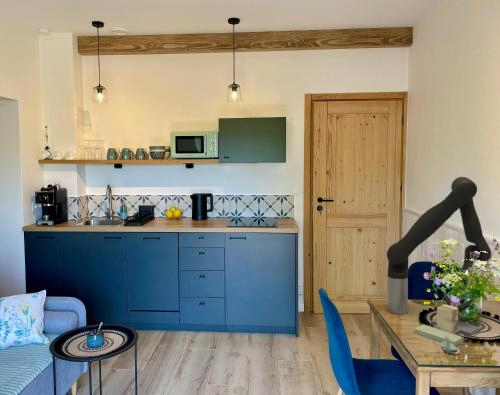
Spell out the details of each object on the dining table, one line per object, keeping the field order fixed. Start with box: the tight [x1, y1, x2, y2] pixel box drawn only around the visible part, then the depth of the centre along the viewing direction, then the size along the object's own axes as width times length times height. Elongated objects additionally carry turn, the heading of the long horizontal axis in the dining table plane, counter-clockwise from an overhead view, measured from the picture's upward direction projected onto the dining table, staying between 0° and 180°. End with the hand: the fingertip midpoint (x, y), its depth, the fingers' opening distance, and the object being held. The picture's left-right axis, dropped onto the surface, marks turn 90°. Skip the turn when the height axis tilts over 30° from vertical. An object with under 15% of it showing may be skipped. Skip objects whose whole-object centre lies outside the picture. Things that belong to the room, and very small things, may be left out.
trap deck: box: [414, 317, 482, 347], centre depth 170 cm, size 22×17×2 cm
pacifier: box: [441, 335, 460, 355], centre depth 154 cm, size 7×6×6 cm
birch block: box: [436, 304, 459, 333], centre depth 169 cm, size 6×6×9 cm
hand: (451, 316), depth 172 cm, fingers closed
